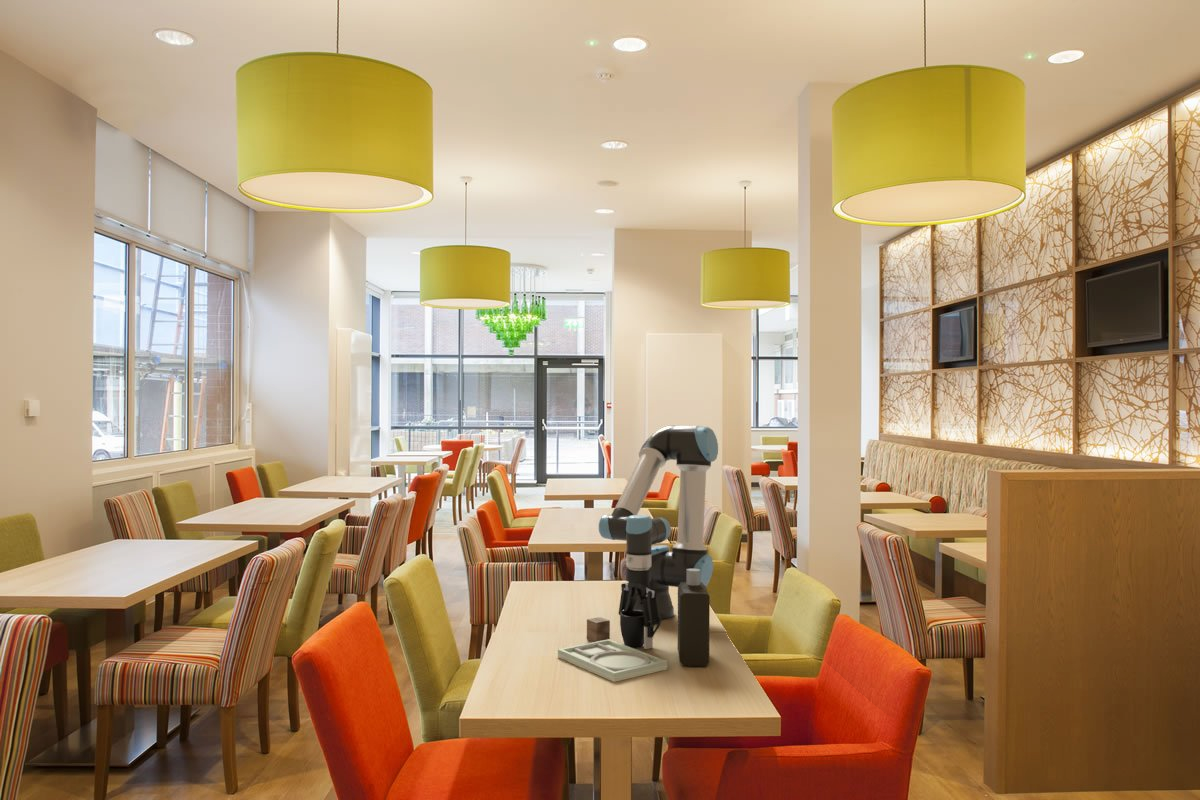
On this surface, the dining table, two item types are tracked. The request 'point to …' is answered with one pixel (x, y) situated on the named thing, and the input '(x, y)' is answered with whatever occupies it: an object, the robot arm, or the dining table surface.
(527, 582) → the dining table surface
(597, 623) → the block
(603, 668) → the tray
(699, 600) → the bottle
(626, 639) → the mug
